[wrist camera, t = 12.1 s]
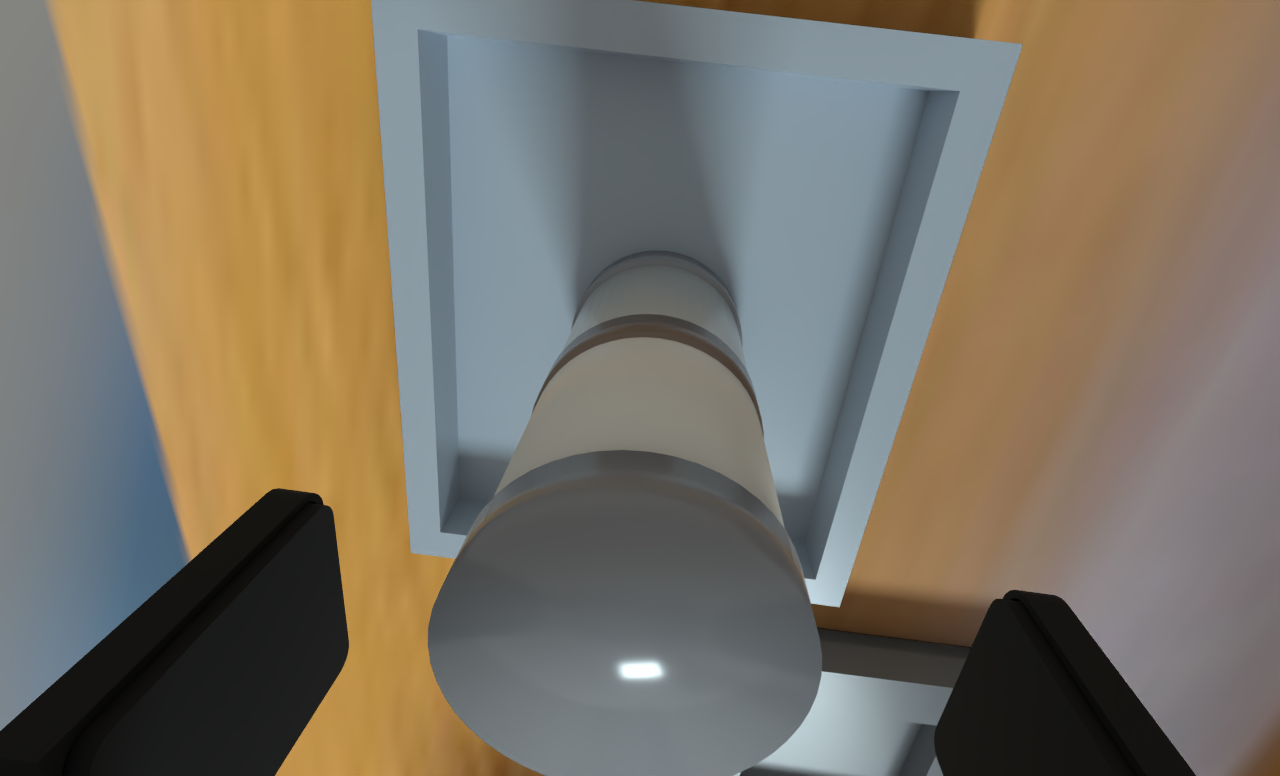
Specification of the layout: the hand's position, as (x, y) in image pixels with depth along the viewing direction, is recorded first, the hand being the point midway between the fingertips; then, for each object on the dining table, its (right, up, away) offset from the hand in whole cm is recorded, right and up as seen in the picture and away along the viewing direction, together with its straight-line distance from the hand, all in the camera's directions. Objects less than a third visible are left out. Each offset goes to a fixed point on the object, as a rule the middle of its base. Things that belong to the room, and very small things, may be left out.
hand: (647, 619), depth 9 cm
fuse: (0, +5, +9) cm, 11 cm away
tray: (0, +5, +10) cm, 11 cm away
